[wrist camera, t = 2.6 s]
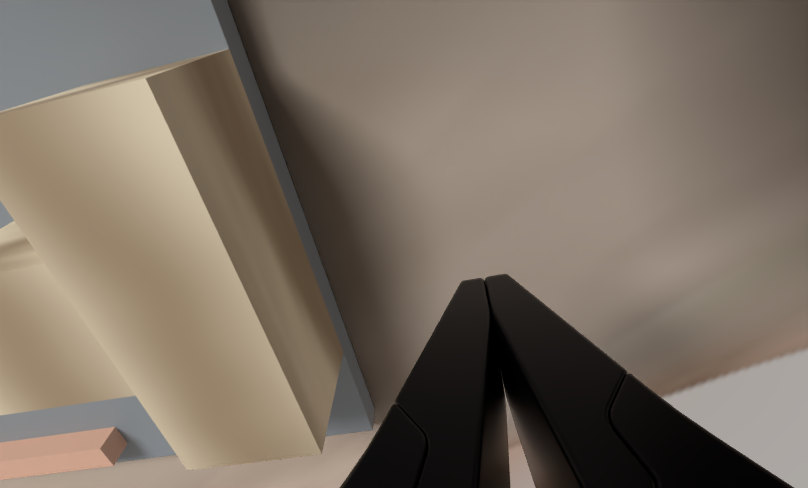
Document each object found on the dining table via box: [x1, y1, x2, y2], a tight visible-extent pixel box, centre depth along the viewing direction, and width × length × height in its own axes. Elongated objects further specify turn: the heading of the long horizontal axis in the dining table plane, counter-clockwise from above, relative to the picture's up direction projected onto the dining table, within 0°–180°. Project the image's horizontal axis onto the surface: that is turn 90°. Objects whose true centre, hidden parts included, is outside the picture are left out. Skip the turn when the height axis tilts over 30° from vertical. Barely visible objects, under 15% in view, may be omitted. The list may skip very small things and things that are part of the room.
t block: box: [0, 49, 343, 470], centre depth 13 cm, size 8×10×4 cm
